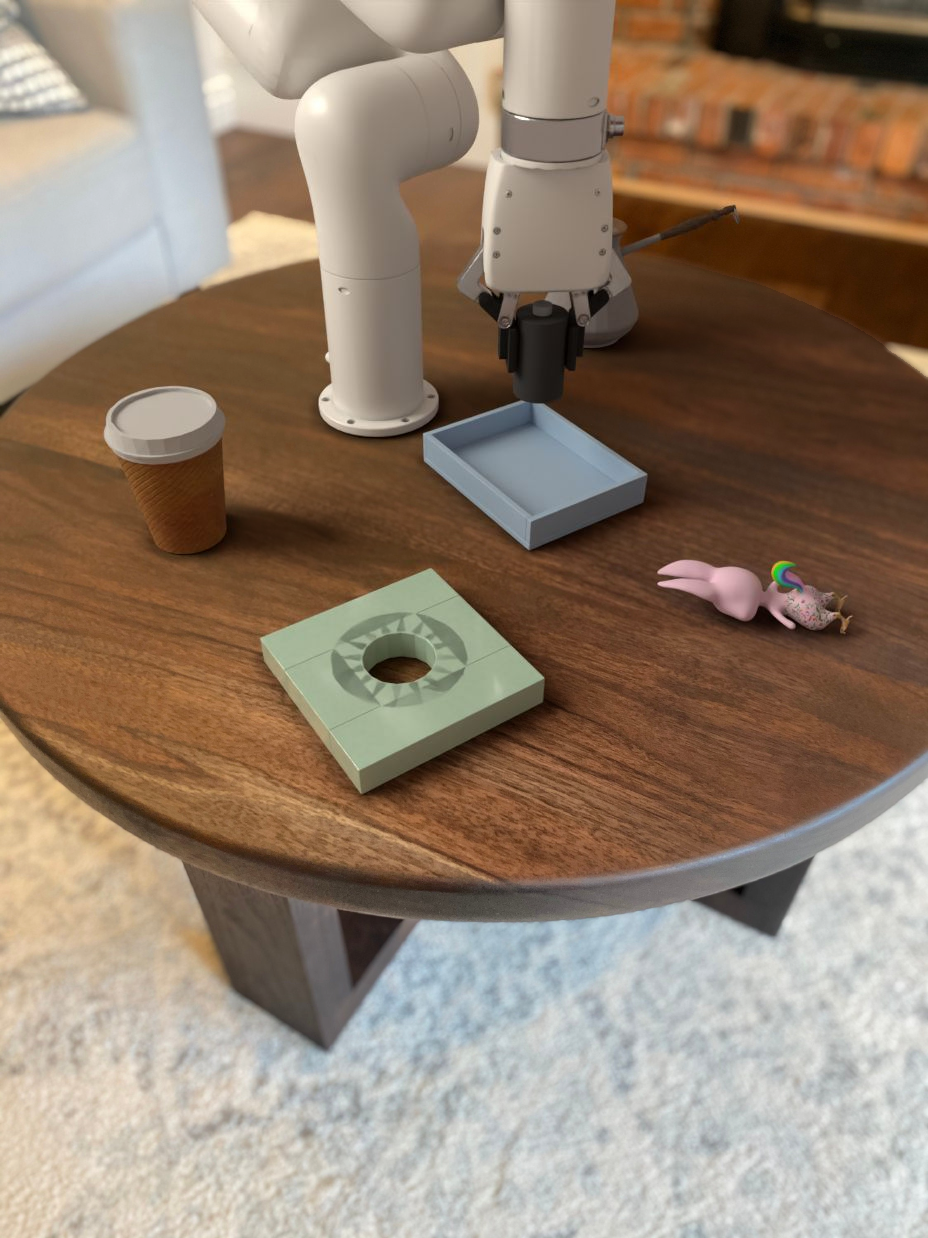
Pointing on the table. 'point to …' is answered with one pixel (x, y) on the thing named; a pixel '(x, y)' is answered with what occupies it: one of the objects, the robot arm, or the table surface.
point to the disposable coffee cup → (173, 463)
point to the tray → (533, 471)
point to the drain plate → (408, 712)
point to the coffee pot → (623, 307)
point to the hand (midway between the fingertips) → (539, 362)
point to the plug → (540, 352)
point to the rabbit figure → (755, 593)
